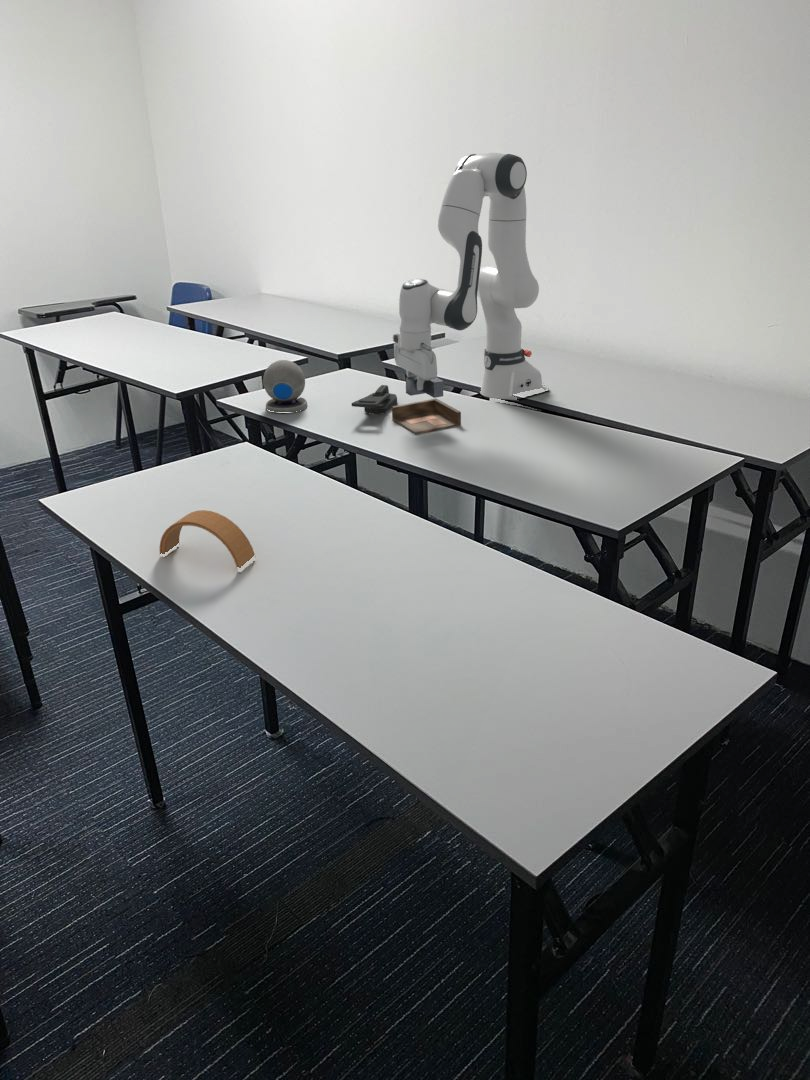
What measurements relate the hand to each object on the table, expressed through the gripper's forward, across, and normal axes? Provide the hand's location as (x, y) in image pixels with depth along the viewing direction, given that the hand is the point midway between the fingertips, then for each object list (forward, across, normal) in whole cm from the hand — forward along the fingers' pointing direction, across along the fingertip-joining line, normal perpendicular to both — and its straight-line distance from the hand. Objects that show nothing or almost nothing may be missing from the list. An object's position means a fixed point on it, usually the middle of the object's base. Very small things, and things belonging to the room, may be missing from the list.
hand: (415, 387), depth 237 cm
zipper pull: (+11, +16, +6) cm, 20 cm away
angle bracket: (+2, -3, -1) cm, 3 cm away
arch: (+12, -53, +76) cm, 93 cm away
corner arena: (+11, -1, -3) cm, 11 cm away
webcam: (+11, +34, +28) cm, 46 cm away
